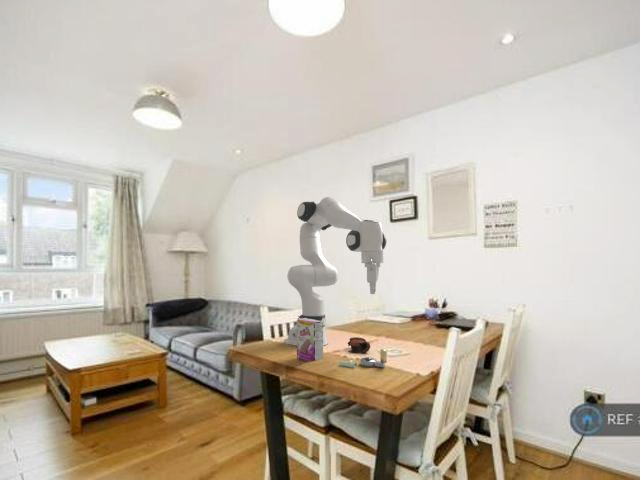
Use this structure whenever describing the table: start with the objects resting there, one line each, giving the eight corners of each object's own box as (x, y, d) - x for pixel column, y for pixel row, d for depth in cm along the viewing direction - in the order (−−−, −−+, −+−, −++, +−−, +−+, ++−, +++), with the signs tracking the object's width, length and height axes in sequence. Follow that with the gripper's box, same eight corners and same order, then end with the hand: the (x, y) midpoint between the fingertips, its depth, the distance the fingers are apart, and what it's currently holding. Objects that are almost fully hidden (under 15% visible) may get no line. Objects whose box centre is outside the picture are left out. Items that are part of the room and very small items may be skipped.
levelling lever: (357, 365, 121) (357, 348, 122) (364, 361, 126) (363, 345, 127) (383, 370, 116) (383, 352, 116) (389, 365, 121) (388, 348, 121)
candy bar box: (296, 359, 135) (296, 319, 137) (305, 356, 139) (305, 317, 140) (314, 364, 127) (314, 322, 129) (323, 362, 131) (323, 320, 132)
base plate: (331, 370, 120) (331, 361, 120) (353, 358, 136) (352, 349, 136) (388, 381, 109) (388, 370, 109) (405, 366, 125) (404, 357, 125)
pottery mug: (341, 356, 141) (343, 337, 146) (355, 362, 146) (356, 343, 151) (363, 353, 134) (365, 334, 138) (377, 360, 139) (378, 340, 143)
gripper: (379, 258, 122) (380, 295, 121) (380, 259, 142) (381, 291, 141) (362, 258, 123) (363, 295, 122) (365, 259, 143) (366, 291, 142)
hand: (373, 293), depth 131 cm, fingers open, 8 cm apart
